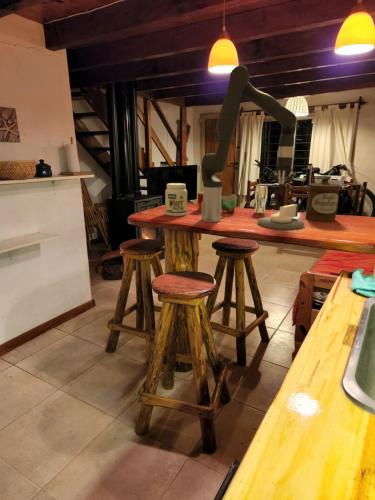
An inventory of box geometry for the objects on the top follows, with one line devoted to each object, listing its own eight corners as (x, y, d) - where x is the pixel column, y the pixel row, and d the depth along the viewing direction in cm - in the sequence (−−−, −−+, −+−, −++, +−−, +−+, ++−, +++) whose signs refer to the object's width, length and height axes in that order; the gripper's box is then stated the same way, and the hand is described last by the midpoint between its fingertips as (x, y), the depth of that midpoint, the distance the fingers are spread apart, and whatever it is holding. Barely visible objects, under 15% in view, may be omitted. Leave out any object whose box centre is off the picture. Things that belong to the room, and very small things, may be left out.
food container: (229, 214, 179) (230, 196, 176) (220, 213, 183) (220, 196, 180) (240, 211, 188) (241, 194, 185) (231, 210, 192) (231, 193, 189)
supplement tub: (166, 216, 173) (165, 185, 168) (164, 212, 184) (164, 183, 179) (188, 216, 174) (188, 185, 169) (185, 212, 186) (185, 182, 181)
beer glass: (259, 213, 182) (261, 187, 177) (251, 211, 188) (253, 186, 183) (268, 212, 185) (270, 186, 180) (260, 210, 191) (262, 185, 186)
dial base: (271, 230, 143) (272, 227, 143) (250, 220, 164) (250, 217, 163) (313, 228, 149) (314, 224, 148) (287, 218, 169) (288, 215, 169)
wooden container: (312, 221, 162) (317, 178, 156) (301, 216, 177) (305, 175, 170) (340, 221, 163) (347, 178, 157) (327, 215, 177) (332, 175, 171)
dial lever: (284, 223, 149) (285, 209, 147) (266, 220, 156) (267, 206, 154) (303, 218, 161) (305, 205, 159) (286, 215, 168) (287, 202, 166)
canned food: (206, 212, 186) (207, 193, 183) (194, 210, 190) (195, 192, 187) (212, 210, 193) (213, 191, 189) (201, 208, 197) (201, 190, 193)
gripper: (269, 156, 159) (266, 191, 164) (293, 156, 150) (289, 193, 155) (277, 156, 164) (274, 190, 169) (301, 156, 155) (297, 192, 160)
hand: (281, 191), depth 162 cm, fingers closed
